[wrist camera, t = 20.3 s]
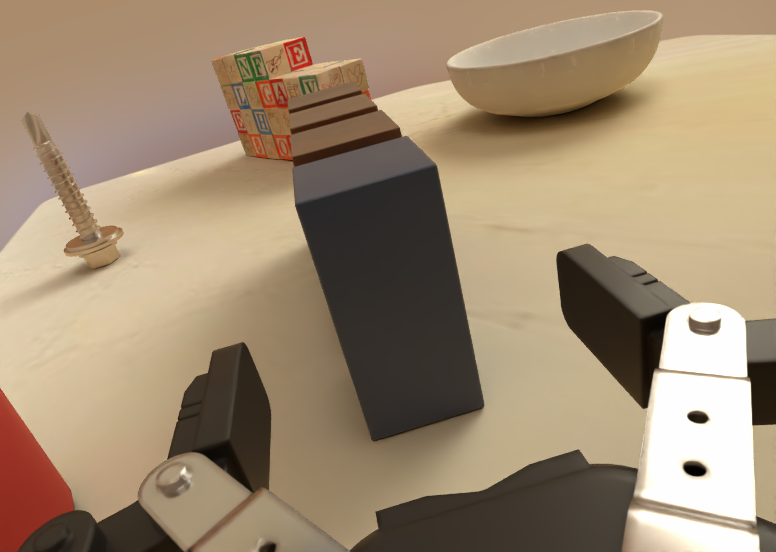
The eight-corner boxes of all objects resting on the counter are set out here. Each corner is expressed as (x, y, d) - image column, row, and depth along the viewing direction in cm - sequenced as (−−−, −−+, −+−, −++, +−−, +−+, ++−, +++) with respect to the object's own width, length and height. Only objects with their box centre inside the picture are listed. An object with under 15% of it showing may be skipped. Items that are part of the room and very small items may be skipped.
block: (485, 407, 22) (437, 163, 18) (372, 442, 22) (294, 204, 17) (453, 345, 26) (407, 134, 22) (357, 373, 26) (291, 167, 21)
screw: (63, 277, 48) (102, 250, 52) (106, 273, 46) (144, 246, 50) (-22, 125, 42) (30, 109, 46) (24, 115, 40) (74, 98, 44)
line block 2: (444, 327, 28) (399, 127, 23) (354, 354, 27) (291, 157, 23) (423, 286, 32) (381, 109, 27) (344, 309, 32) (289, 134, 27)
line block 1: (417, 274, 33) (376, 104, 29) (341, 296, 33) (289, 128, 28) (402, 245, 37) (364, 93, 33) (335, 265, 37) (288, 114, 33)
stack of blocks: (384, 146, 61) (355, 25, 56) (339, 167, 58) (304, 41, 52) (284, 139, 77) (253, 45, 71) (244, 156, 74) (209, 58, 68)
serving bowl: (465, 100, 72) (456, 43, 69) (643, 66, 66) (642, 2, 63) (446, 150, 54) (432, 77, 51) (686, 110, 48) (687, 24, 45)
